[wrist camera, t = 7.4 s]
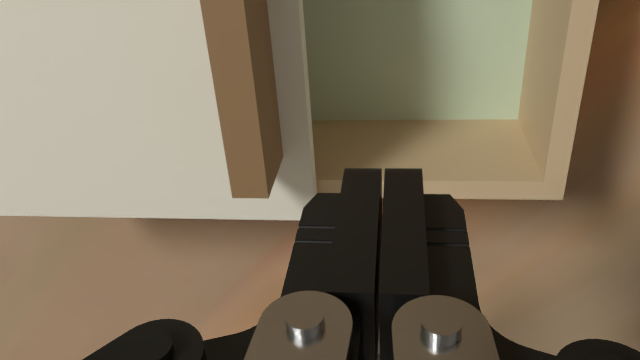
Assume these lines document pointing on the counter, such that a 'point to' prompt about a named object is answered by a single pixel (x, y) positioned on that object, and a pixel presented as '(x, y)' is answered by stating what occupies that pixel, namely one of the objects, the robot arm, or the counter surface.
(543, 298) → the counter surface
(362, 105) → the mailer box
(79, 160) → the lid
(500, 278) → the counter surface
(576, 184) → the counter surface
